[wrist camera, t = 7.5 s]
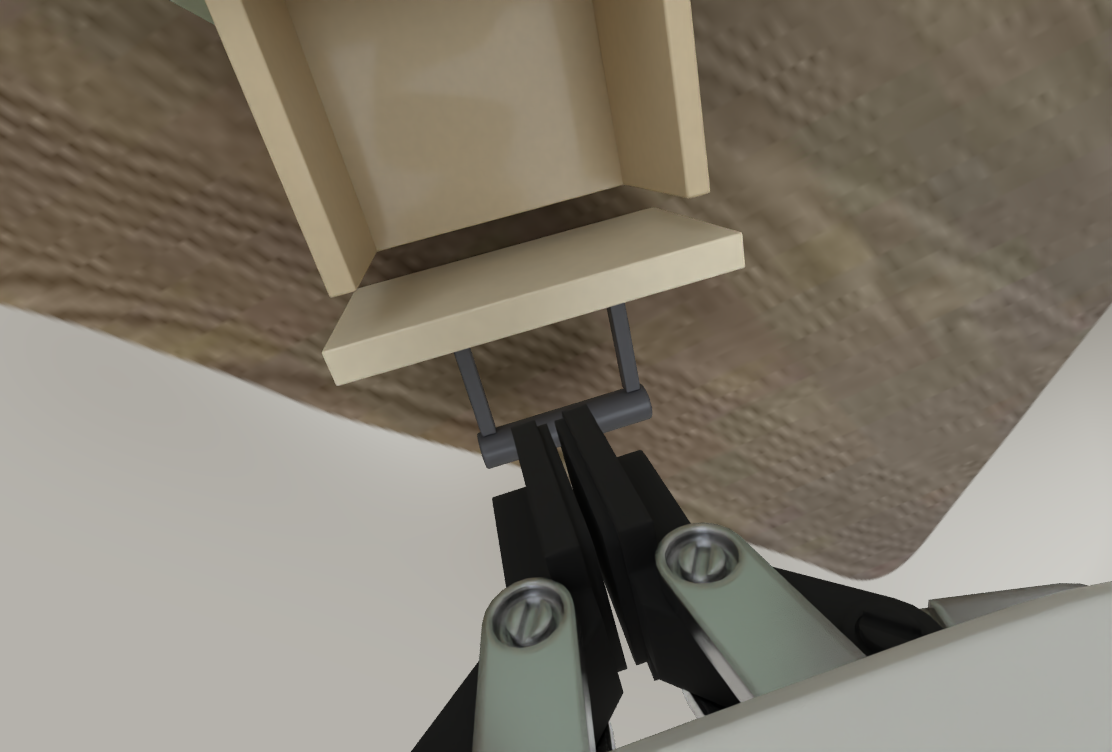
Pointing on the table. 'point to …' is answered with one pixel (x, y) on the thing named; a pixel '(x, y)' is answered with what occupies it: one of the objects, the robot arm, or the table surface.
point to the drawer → (481, 167)
